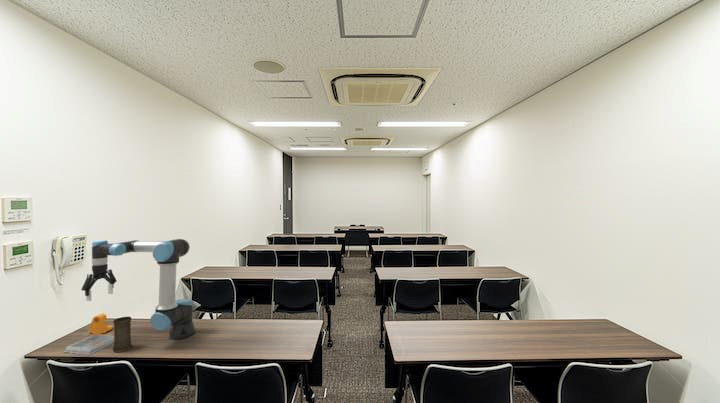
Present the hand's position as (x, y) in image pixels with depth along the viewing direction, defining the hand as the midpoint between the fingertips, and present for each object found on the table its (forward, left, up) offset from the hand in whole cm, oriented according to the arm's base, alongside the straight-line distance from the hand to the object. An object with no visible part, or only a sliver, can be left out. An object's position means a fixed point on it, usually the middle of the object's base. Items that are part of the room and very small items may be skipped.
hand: (100, 297), depth 187 cm
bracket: (+11, -10, -28) cm, 31 cm away
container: (-25, +8, -28) cm, 38 cm away
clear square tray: (-4, +8, -27) cm, 29 cm away
